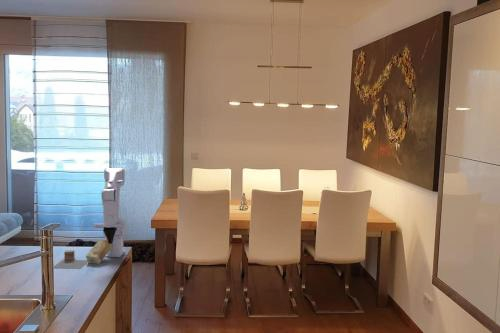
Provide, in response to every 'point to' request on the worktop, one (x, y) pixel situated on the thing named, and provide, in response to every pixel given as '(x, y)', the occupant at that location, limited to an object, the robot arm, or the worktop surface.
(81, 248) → the worktop surface
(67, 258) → the walnut cube
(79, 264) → the felt mat
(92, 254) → the skincare box
